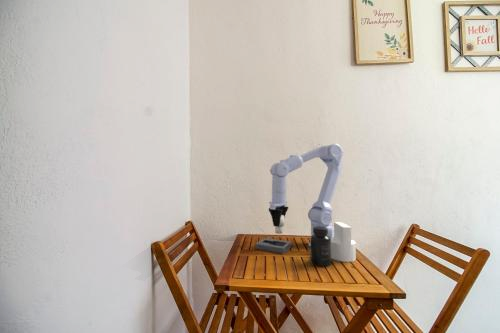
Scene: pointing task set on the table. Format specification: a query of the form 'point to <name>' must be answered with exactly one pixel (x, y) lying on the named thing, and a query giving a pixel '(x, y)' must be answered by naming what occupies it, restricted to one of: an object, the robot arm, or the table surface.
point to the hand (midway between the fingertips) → (278, 225)
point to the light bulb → (279, 229)
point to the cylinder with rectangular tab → (343, 243)
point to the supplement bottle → (320, 247)
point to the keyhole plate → (273, 245)
